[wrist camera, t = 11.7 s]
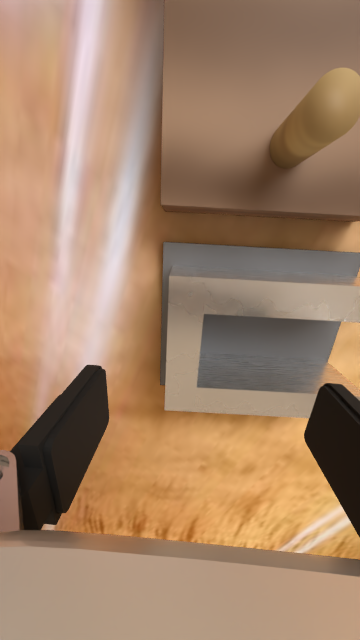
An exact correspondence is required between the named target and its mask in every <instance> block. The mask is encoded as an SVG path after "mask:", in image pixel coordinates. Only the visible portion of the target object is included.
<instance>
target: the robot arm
mask: <svg viewBox="0 0 360 640" xmlns="http://www.w3.org/2000/svg"><path fill="white" fill-rule="evenodd" d="M108 422H109V409H108V396H107V383H106V371H105V370H104V369H102V367H101V366H97V365H87V366H85V368H84V369H83V370H82V371H81V372H80V373H79V374H78V376H77V377H76V378H75V379H74V380H73V381H72V383H71V384H70V385H69V386H68V387H67V388H66V390H65V391H64V392H63V393H62V394H61V395H59V396H58V397H57V398H56V399H55V400H54V402H53V403H52V404H51V405H50V406H49V407H48V409H47V410H46V411H45V412H44V413H43V414H42V415H41V417H40V418H39V419H38V420H37V421H36V422H35V423H34V425H33V426H32V427H31V428H30V429H29V430H28V431H27V433H26V434H25V435H24V436H23V437H22V438H21V439H20V441H19V442H18V443H17V444H16V445H15V446H14V448H13V449H12V450H11V451H5V450H1V451H0V640H360V560H357V559H348V558H339V557H330V556H320V555H311V554H301V553H292V552H282V551H272V550H262V549H253V548H243V547H233V546H223V545H213V544H203V543H193V542H182V541H172V540H161V539H151V538H140V537H130V536H119V535H109V534H95V533H81V532H68V531H54V530H41V528H42V526H43V525H44V524H52V525H57V522H58V520H59V518H60V516H61V514H62V513H66V512H67V511H68V509H69V507H70V505H71V503H72V501H73V499H74V497H75V495H76V492H77V490H78V488H79V486H80V484H81V482H82V479H83V477H84V475H85V473H86V471H87V469H88V466H89V464H90V462H91V460H92V458H93V456H94V453H95V451H96V449H97V447H98V445H99V443H100V441H101V438H102V436H103V434H104V432H105V430H106V428H107V425H108ZM304 438H305V442H306V444H307V446H308V447H309V449H310V451H311V453H312V454H313V456H314V458H315V460H316V461H317V463H318V465H319V467H320V468H321V470H322V472H323V474H324V476H325V477H326V479H327V481H328V483H329V484H330V486H331V488H332V490H333V491H334V493H335V495H336V497H337V498H338V500H339V502H340V504H341V505H342V507H343V509H344V511H345V513H346V514H347V516H348V518H349V520H350V521H351V523H352V525H353V527H354V528H355V530H356V532H357V534H358V535H359V537H360V401H359V400H358V399H357V398H356V397H355V396H354V395H353V394H352V393H351V392H350V391H349V390H348V389H347V388H346V387H345V386H343V385H342V384H334V383H325V384H324V385H323V386H321V387H320V388H319V391H318V394H317V397H316V400H315V403H314V406H313V409H312V412H311V415H310V418H309V421H308V424H307V427H306V430H305V433H304Z"/></svg>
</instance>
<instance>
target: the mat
mask: <svg viewBox="0 0 360 640" xmlns="http://www.w3.org/2000/svg"><path fill="white" fill-rule="evenodd" d="M173 265H174V266H191V267H209V268H227V269H245V270H262V271H280V272H298V273H315V274H333V275H351V276H357V274H358V271H359V268H360V253H353V252H335V251H318V250H300V249H282V248H264V247H246V246H228V245H211V244H193V243H175V242H164V243H163V285H162V328H161V370H160V385H165V381H166V353H167V324H168V295H169V275H170V272H171V270H172V267H173ZM340 324H341V321H323V320H306V319H288V318H270V317H252V316H234V315H216V314H204V317H203V327H202V337H201V347H200V353H211V354H229V355H247V356H265V357H283V358H301V359H319V360H326V361H327V362H328V359H329V356H330V353H331V350H332V347H333V344H334V341H335V338H336V335H337V332H338V329H339V327H340Z"/></svg>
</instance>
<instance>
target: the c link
mask: <svg viewBox="0 0 360 640" xmlns="http://www.w3.org/2000/svg"><path fill="white" fill-rule="evenodd" d="M204 314H216V315H234V316H252V317H270V318H288V319H306V320H323V321H341V322H359V323H360V277H357V276H351V275H333V274H315V273H298V272H280V271H262V270H245V269H227V268H209V267H191V266H174V265H173V267H172V270H171V272H170V275H169V295H168V324H167V353H166V381H165V410H168V411H187V412H205V413H223V414H241V415H260V416H278V417H296V418H310V415H311V412H312V409H313V406H314V403H315V400H316V397H317V394H318V391H319V388H320V387H321V386H323V385H324V384H325V383H334V384H342V385H343V386H345V387H346V388H347V389H348V390H349V391H350V392H351V393H352V394H353V395H354V396H355V397H356V398H357V399H358V400H359V401H360V390H359V389H358V388H357V387H356V386H355V385H353V384H352V383H351V382H350V381H349V380H348V379H346V378H345V377H344V376H343V375H342V374H341V373H340V372H338V371H337V370H336V369H335V368H334V367H333V366H331V365H330V364H329V363H328V362H327V361H326V360H319V359H301V358H283V357H265V356H247V355H229V354H211V353H200V347H201V337H202V327H203V317H204Z"/></svg>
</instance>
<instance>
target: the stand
mask: <svg viewBox="0 0 360 640" xmlns="http://www.w3.org/2000/svg"><path fill="white" fill-rule="evenodd" d="M161 206H162V207H163V209H164V210H165V211H175V212H192V213H210V214H228V215H246V216H263V217H281V218H299V219H316V220H334V221H352V222H355V221H360V0H164V44H163V99H162V154H161Z"/></svg>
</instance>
